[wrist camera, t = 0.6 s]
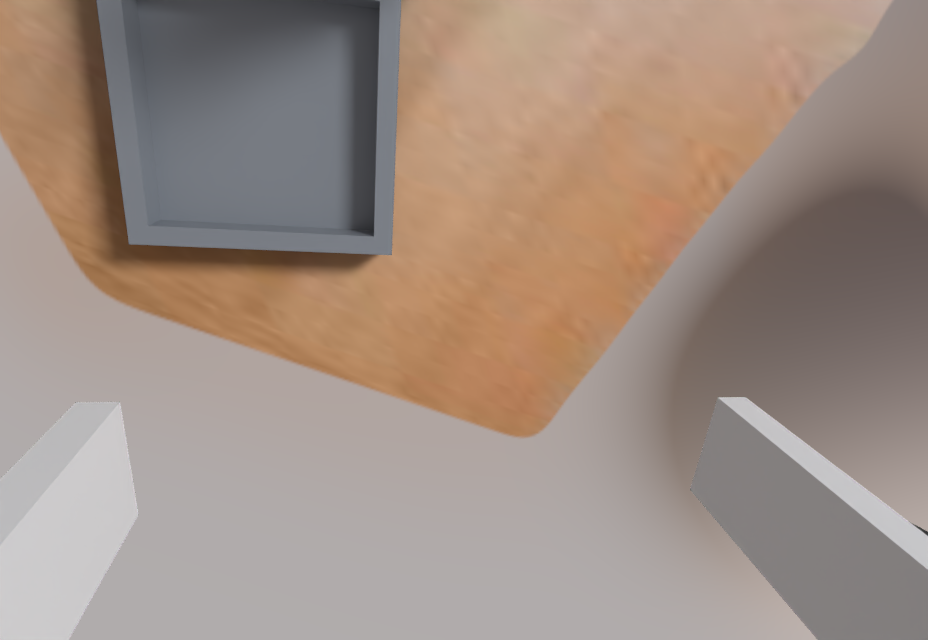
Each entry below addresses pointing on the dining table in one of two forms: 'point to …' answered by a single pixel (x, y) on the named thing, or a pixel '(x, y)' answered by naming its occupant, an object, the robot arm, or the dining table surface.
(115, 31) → the tray
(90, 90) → the dining table surface
